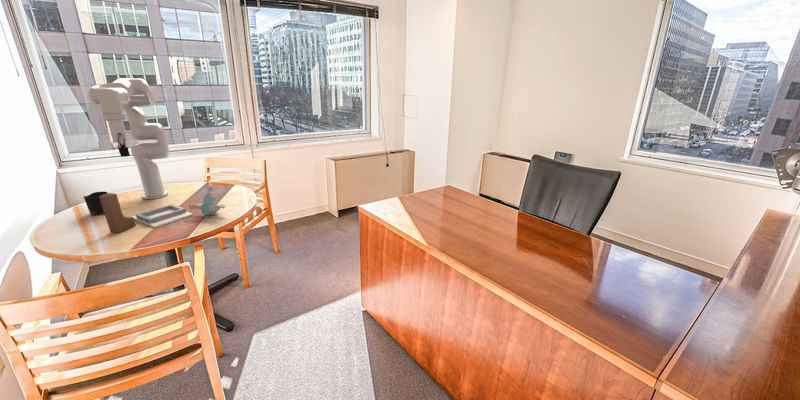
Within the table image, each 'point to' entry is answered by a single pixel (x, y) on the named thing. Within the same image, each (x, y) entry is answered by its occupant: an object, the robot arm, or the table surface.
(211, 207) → the toy figure
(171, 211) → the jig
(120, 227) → the wooden block
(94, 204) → the pen holder
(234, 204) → the table surface
